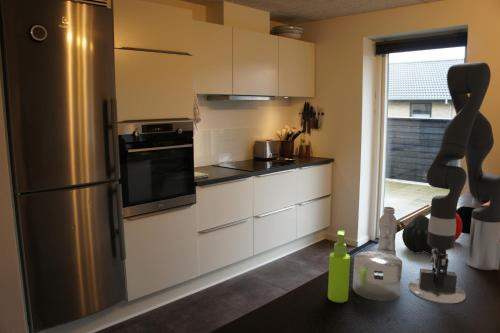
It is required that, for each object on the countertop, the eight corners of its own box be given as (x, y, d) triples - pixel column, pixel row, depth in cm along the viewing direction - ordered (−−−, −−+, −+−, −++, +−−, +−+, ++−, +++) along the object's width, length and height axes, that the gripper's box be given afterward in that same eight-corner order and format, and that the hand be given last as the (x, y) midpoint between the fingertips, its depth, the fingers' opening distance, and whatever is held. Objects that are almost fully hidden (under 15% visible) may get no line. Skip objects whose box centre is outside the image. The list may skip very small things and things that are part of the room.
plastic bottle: (396, 265, 148) (400, 210, 145) (377, 263, 149) (380, 209, 146) (394, 258, 154) (397, 206, 151) (375, 257, 155) (378, 205, 152)
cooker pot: (397, 279, 136) (399, 250, 134) (402, 309, 116) (405, 275, 115) (353, 274, 140) (355, 245, 138) (351, 302, 120) (353, 269, 118)
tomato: (424, 240, 175) (427, 207, 173) (432, 234, 184) (435, 203, 182) (456, 247, 167) (459, 213, 165) (463, 240, 176) (467, 208, 174)
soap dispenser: (349, 293, 125) (352, 229, 122) (346, 303, 119) (350, 236, 116) (329, 290, 127) (332, 227, 124) (326, 300, 121) (329, 234, 118)
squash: (439, 249, 149) (444, 212, 156) (396, 243, 157) (403, 208, 164) (442, 264, 159) (447, 230, 166) (402, 258, 167) (408, 225, 174)
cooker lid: (459, 284, 134) (460, 265, 133) (471, 307, 118) (473, 286, 117) (406, 278, 138) (407, 259, 137) (411, 300, 122) (413, 279, 121)
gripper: (460, 239, 117) (455, 295, 120) (450, 225, 131) (446, 275, 133) (431, 236, 119) (427, 292, 122) (425, 223, 133) (421, 272, 135)
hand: (437, 283), depth 128 cm, fingers open, 5 cm apart
